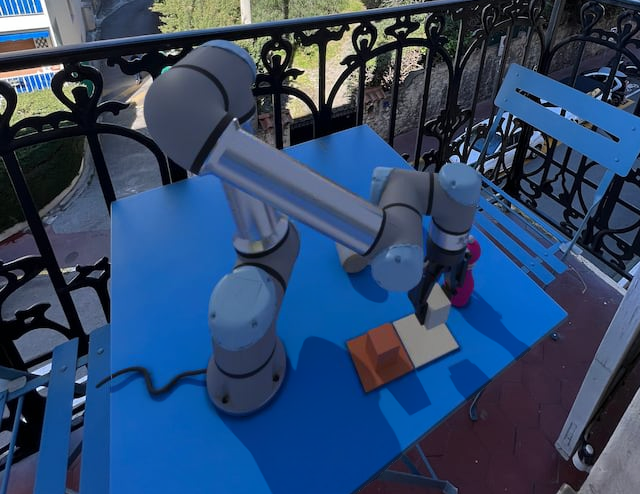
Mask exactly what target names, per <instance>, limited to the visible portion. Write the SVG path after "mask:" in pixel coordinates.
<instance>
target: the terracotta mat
mask: <svg viewBox="0 0 640 494" xmlns="http://www.w3.org/2000/svg"><path fill="white" fill-rule="evenodd" d="M389 324H390V326H391V328H392V330H393V332H394V334H395V336H396V338H397V340H398V342H399V344H400V348H399V353H398V358H397V363H395V364H393V365H390V366H388V367H386V368H384V369H382V370H380V371H378V372H375V370H374V368H373V366H372V363H371V361H370V359H369V356H368V354H367V352H366V349H365V346H366V339H367V333H365V334H362V335H360V336H358V337H355V338H353V339H351V340H348V341H346V346H347V349H348V351H349V354H350V357H351V359H352V362H353V365H354V366H355V367H354V368H355V370H356V372H357V374H358V377H359V380H360V382H361V385H362V388H363V390H364V392H365V394H366V393H370V392H371V391H374V390H375V389H377V388H379V387H381V386H383V385H385V384H387V383H390V382H392V381H394V380H396V379H398V378H400V377H402V376H404V375H406V374H408V373H410V372H412V371H414V369H415V367H414V365H413V363H412V361H411V359H410V357H409V355H408V353H407V351H406V349H405V347H404V345H403V343H402V341H401V339H400V337H399V335H398V333H397V331H395V330H396V329H395V327H394V325H393V323H390V322H389Z"/></svg>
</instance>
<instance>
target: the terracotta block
mask: <svg viewBox="0 0 640 494" xmlns="http://www.w3.org/2000/svg"><path fill="white" fill-rule="evenodd" d="M366 334H367V339H366V346H365V349H366V352H367V354H368V356H369V359H370V361H371V363H372V366H373V368H374V370H375V372H378V371H380V370H382V369H384V368H386V367H388V366H390V365H393V364H395V363H397V358H398V353H399V348H400V344H399V342H398V340H397V338H396V336H395V334H394V332H393V330H392V328H391V326H390V322H386V323H383V324H381V325H379V326H377V327H375V328H371V329H369V330H367V332H366Z"/></svg>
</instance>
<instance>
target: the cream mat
mask: <svg viewBox="0 0 640 494" xmlns="http://www.w3.org/2000/svg"><path fill="white" fill-rule="evenodd" d="M392 326H393V328H394V330H396V331H395V332H396V334H397V336H398V338H399V340H400V342H401V344H402V346H403V348H404V350H405V352H406V354H407V355H408V357H409V359H410V361H411V363H412V365H413V367H414V369H418V368H421V367H422V366H425V365H426V364H428V363H431V362H432V361H434V360H437V359H439V358H440V357H441V358H442V356H445V355H447V354H448V353H451V352H454V351H455V350H457V349H459V347H460V346H459V344H458V343H457V341H456V340H455V338H454V336H453V335H452V333H451V331H450V330H449V328H448V326H447V325H446V322H445V323H443V324H441V325H439V326H436V327H434V328H432V329H430V330H428V331H427V330H426V328H425V326H424V325H422V326H421V325H420V323H419V321H418V320H417V318H416V316H415V312H414V313H412V314H409V315H408V316H404V317H403V318H400V319H397V320H395V321H393V322H392Z"/></svg>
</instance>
